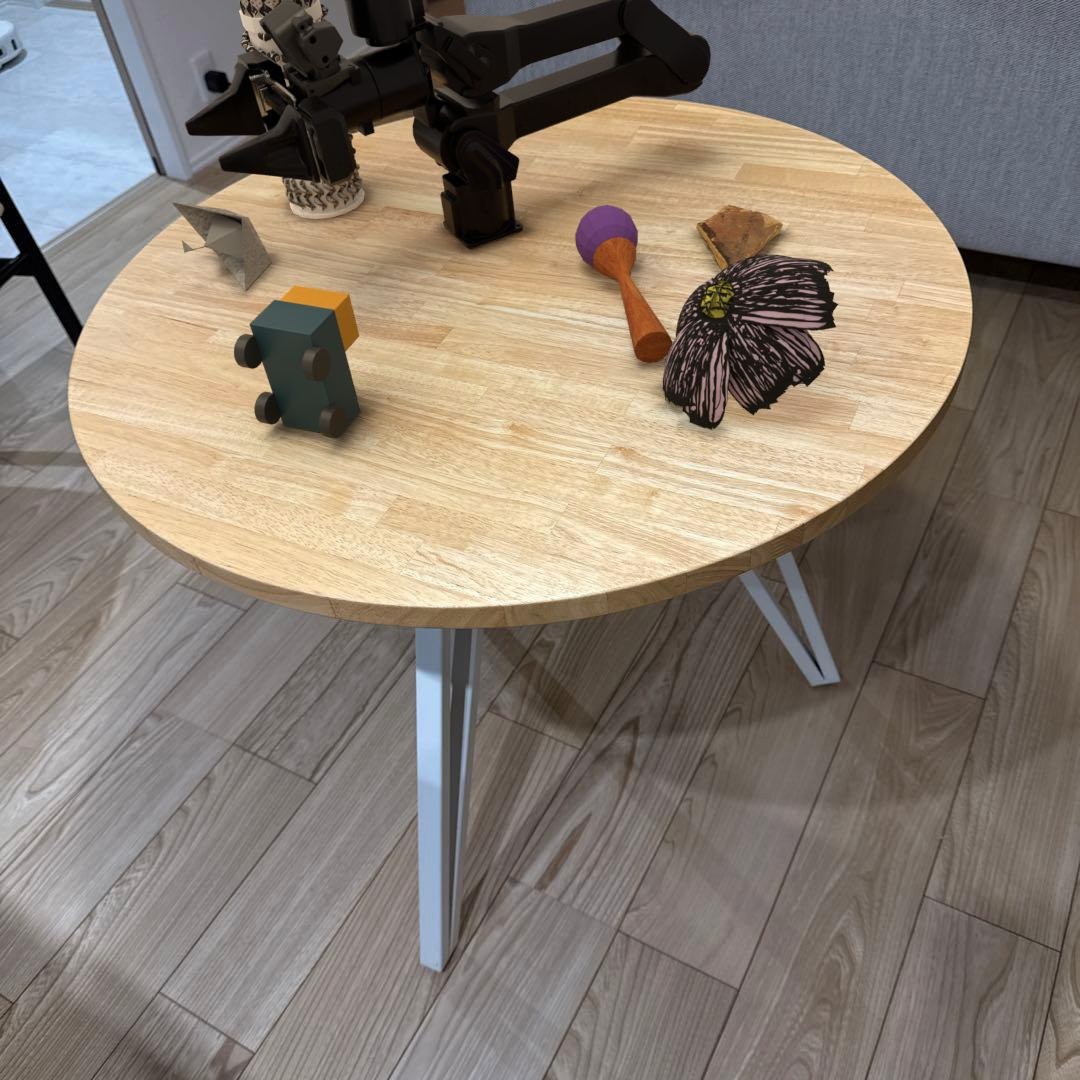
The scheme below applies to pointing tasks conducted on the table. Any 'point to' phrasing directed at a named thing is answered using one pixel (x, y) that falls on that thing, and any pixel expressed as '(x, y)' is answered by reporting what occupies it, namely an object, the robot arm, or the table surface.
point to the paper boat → (228, 240)
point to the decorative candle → (254, 6)
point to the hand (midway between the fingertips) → (202, 146)
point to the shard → (737, 233)
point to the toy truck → (304, 360)
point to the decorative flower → (748, 336)
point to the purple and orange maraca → (622, 275)
